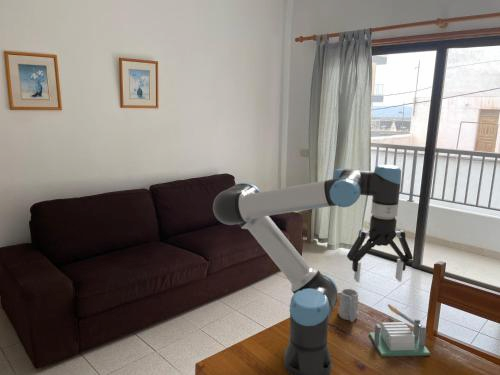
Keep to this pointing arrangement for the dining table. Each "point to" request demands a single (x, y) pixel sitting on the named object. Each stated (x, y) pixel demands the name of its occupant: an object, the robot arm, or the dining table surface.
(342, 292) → the white cup
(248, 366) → the dining table surface
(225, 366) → the dining table surface
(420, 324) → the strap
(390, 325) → the heatsink board
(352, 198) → the robot arm
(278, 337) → the dining table surface
